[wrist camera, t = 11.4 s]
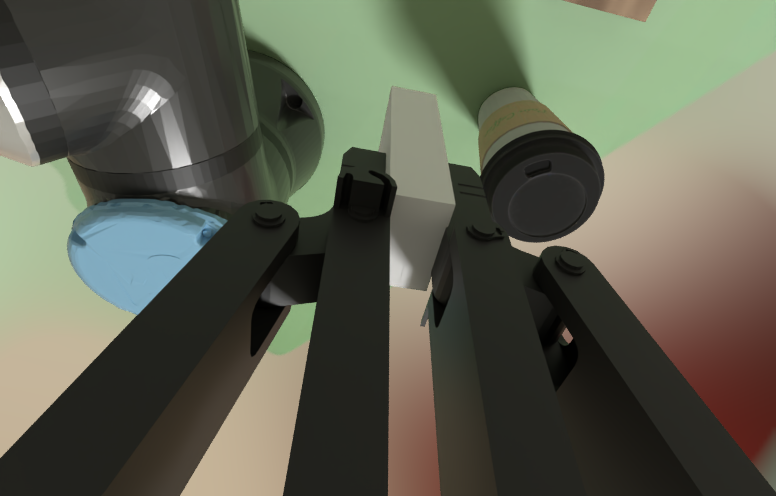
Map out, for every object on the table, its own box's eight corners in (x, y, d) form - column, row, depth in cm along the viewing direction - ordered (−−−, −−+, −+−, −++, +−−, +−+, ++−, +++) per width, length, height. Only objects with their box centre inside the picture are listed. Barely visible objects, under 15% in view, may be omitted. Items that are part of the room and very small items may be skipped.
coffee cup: (513, 46, 43) (558, 114, 31) (577, 112, 47) (638, 195, 35) (439, 121, 47) (454, 206, 36) (502, 176, 51) (535, 268, 39)
